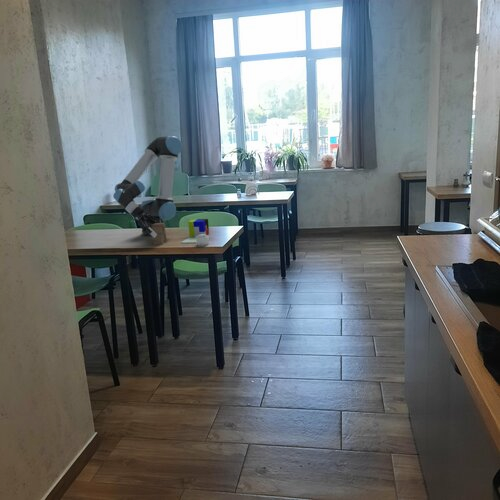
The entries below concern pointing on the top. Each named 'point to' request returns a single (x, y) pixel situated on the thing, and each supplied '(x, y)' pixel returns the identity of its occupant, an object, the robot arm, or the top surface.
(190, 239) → the pad
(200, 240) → the sugar bowl
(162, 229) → the walnut block
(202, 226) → the puzzle toy
